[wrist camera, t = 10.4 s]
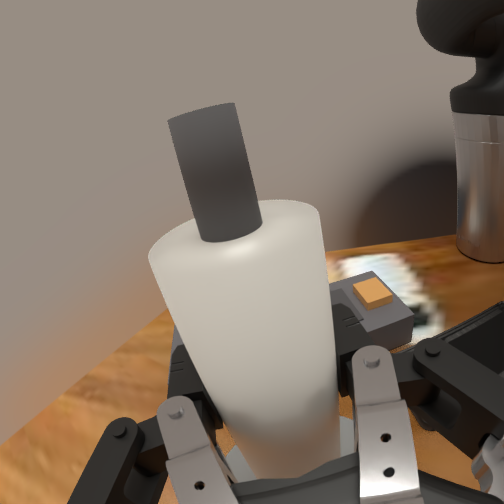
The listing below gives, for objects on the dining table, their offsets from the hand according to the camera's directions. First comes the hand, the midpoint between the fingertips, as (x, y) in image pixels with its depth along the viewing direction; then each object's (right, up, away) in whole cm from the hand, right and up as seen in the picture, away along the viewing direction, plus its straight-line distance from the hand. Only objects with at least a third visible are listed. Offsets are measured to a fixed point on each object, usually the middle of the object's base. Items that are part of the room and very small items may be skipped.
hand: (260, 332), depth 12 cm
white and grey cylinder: (+2, -9, +1) cm, 9 cm away
